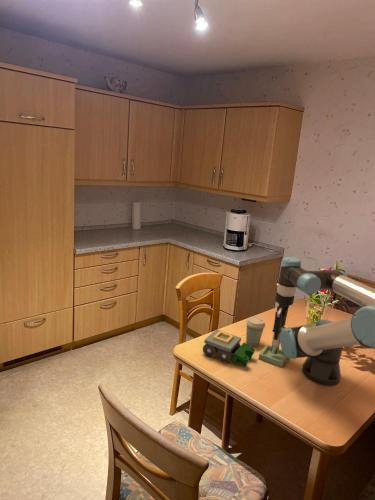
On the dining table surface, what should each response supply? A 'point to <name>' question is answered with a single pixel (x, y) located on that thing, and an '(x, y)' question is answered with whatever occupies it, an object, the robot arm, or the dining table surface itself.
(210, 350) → the toy cart
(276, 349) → the pin
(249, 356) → the clamp
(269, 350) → the tray
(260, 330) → the coffee cup
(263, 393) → the dining table surface
